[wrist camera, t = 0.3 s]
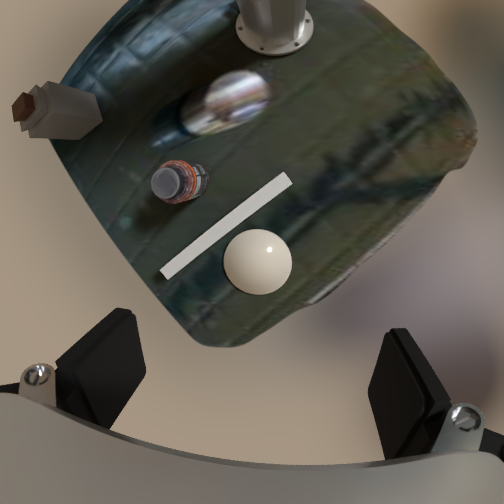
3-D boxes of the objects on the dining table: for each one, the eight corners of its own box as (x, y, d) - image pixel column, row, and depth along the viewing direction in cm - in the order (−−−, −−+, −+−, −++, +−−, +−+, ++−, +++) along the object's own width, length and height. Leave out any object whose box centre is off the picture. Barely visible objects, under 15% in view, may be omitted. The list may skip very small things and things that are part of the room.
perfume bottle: (79, 140, 44) (9, 137, 26) (71, 113, 42) (5, 104, 25) (103, 121, 42) (33, 109, 25) (94, 94, 41) (28, 76, 24)
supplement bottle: (169, 186, 44) (135, 191, 33) (187, 154, 43) (156, 150, 32) (198, 204, 45) (171, 215, 34) (217, 173, 43) (195, 173, 32)
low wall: (171, 260, 48) (159, 270, 43) (283, 172, 42) (283, 171, 37) (178, 269, 48) (167, 279, 43) (291, 182, 42) (292, 183, 37)
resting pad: (211, 255, 47) (210, 256, 46) (264, 215, 44) (263, 215, 43) (251, 304, 48) (251, 306, 48) (304, 269, 45) (305, 270, 45)
